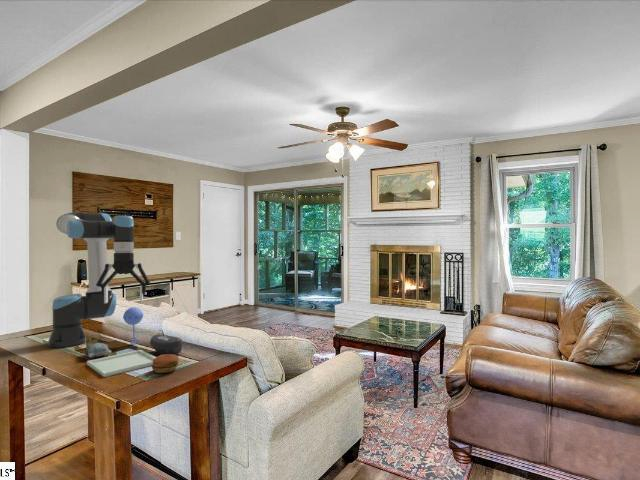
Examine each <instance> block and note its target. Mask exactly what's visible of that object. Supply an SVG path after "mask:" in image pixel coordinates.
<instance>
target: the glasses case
mask: <svg viewBox="0 0 640 480" xmlns="http://www.w3.org/2000/svg"><path fill="white" fill-rule="evenodd" d="M149 343H150V344H149V345H150V346H151V348H152V349H153V350H155V352H156V353H158V354H160V355H163V354H173V355H176V356H177V355H179V354H180V353H181V352H182V349H183V343H184V341H183V340H182V338H180V337H178V336H174V335H168V334H159V333H157V334H155V335H152V337H151V338H150V341H149Z"/></svg>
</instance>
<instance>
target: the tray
mask: <svg viewBox="0 0 640 480" xmlns="http://www.w3.org/2000/svg"><path fill="white" fill-rule="evenodd" d="M156 357H157V356H155V355H153V354H151V353H148V352H147V351H144V350H142V349H138V350H134V351H129V352H124V353H119V354H114V355H109V356H104V357H100V358H99V357H98V358H96V359H91V360H90V359H89V360H87V361H86V365H87V367H90V368H91V369H92V370H94V371H95V372H96V373H98V375H100V376H102V377H103V378H107V377H111V376H112V377H113V376H117V375H119V374H123V373H129V372H131V371H132V372H133V371H137V370H140V369H144V368H149V367H152V365H153V360H154V359H155V358H156Z"/></svg>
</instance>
